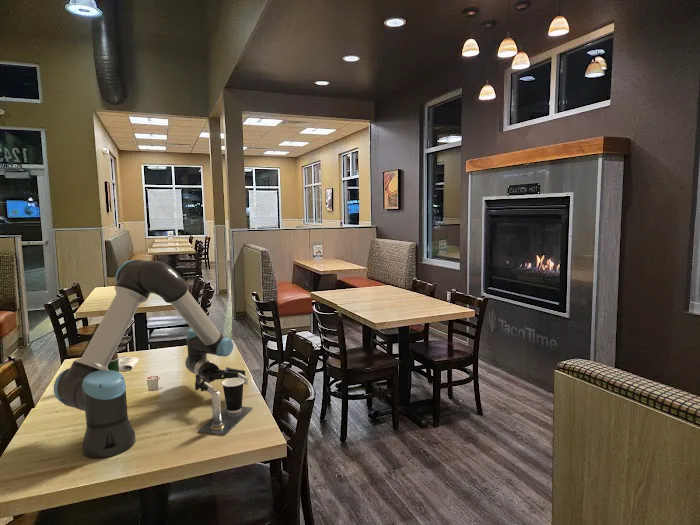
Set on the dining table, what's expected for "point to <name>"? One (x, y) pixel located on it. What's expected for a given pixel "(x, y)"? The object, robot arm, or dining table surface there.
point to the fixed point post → (216, 410)
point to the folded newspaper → (126, 363)
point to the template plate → (225, 421)
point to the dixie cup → (233, 394)
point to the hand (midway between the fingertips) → (230, 385)
